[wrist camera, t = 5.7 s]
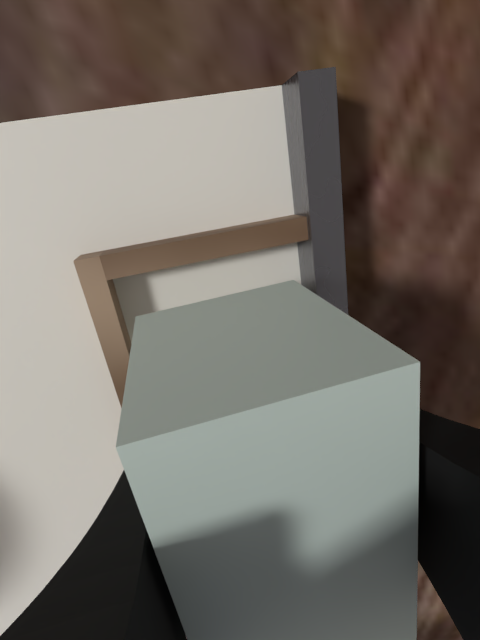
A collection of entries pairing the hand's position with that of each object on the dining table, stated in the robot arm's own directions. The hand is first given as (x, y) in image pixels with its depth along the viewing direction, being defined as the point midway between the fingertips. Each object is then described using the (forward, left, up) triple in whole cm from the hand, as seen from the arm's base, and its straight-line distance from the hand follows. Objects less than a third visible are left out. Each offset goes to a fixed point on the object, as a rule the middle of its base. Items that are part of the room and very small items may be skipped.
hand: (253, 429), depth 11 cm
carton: (0, 0, -1) cm, 1 cm away
